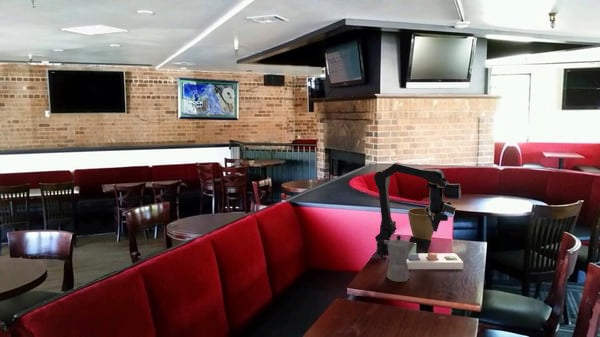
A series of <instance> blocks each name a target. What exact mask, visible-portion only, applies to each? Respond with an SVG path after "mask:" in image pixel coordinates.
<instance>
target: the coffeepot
mask: <svg viewBox="0 0 600 337" xmlns="http://www.w3.org/2000/svg"><path fill="white" fill-rule="evenodd" d="M401 237H402V236H401V235H400V234H399V235H396V239H390V241H389V240H380V241H379V242H378V243H377V242H376V249H377V248H378V251H379V253H380V254H379V256H380V258H381V260H383V261H386V260H387V257H385V256H384V254H383V252H382V247H381V245H382V244H383V245H387V246H388V253H389V254H388V257H389V260H390V261H389V263H388V267H387V268H388V269H387V273H386V277H387V279H388V280H389V281H392V282H397V283H401V282H402V283H403V282H407V281H409V280H410V277H411V276H410V271H409V270H410V269H408V264H407V259H408V256H409V252H410V251H411V249H412V248H413V247H414V246H415V244H414V243H411V242H409V241H408V240H405V239H401ZM408 279H409V280H408Z"/></svg>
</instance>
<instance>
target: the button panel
mask: <svg viewBox="0 0 600 337" xmlns="http://www.w3.org/2000/svg"><path fill="white" fill-rule="evenodd" d="M414 244H415V246H414V247H413V248H412V249H411V251H410V252H409V254H410V253H416V243H414ZM428 253H429V252H428ZM428 253H418V254H419V260H412V261H409V256H408V259H407V264H408V270H464V261H463V260H462V259H461V258H460V257H459V256H458V255H457V253H452V252H451V253H449V252H447V253H445V252H444V253H436V252H435V253H436V254H437V260H428ZM446 256H454V257H456V259H455V260H446Z"/></svg>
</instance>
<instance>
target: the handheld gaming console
mask: <svg viewBox="0 0 600 337" xmlns="http://www.w3.org/2000/svg"><path fill="white" fill-rule="evenodd" d="M408 242H411V243H416V253H427V252H428V251H429V248H430V245H431V242H432V240H427V239H422V238H417V237H413V235H412V236H410V238H409V241H408ZM428 253H429V252H428Z"/></svg>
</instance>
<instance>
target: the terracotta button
mask: <svg viewBox="0 0 600 337" xmlns="http://www.w3.org/2000/svg"><path fill="white" fill-rule="evenodd" d="M428 260H437V254H436V252H428Z"/></svg>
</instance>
